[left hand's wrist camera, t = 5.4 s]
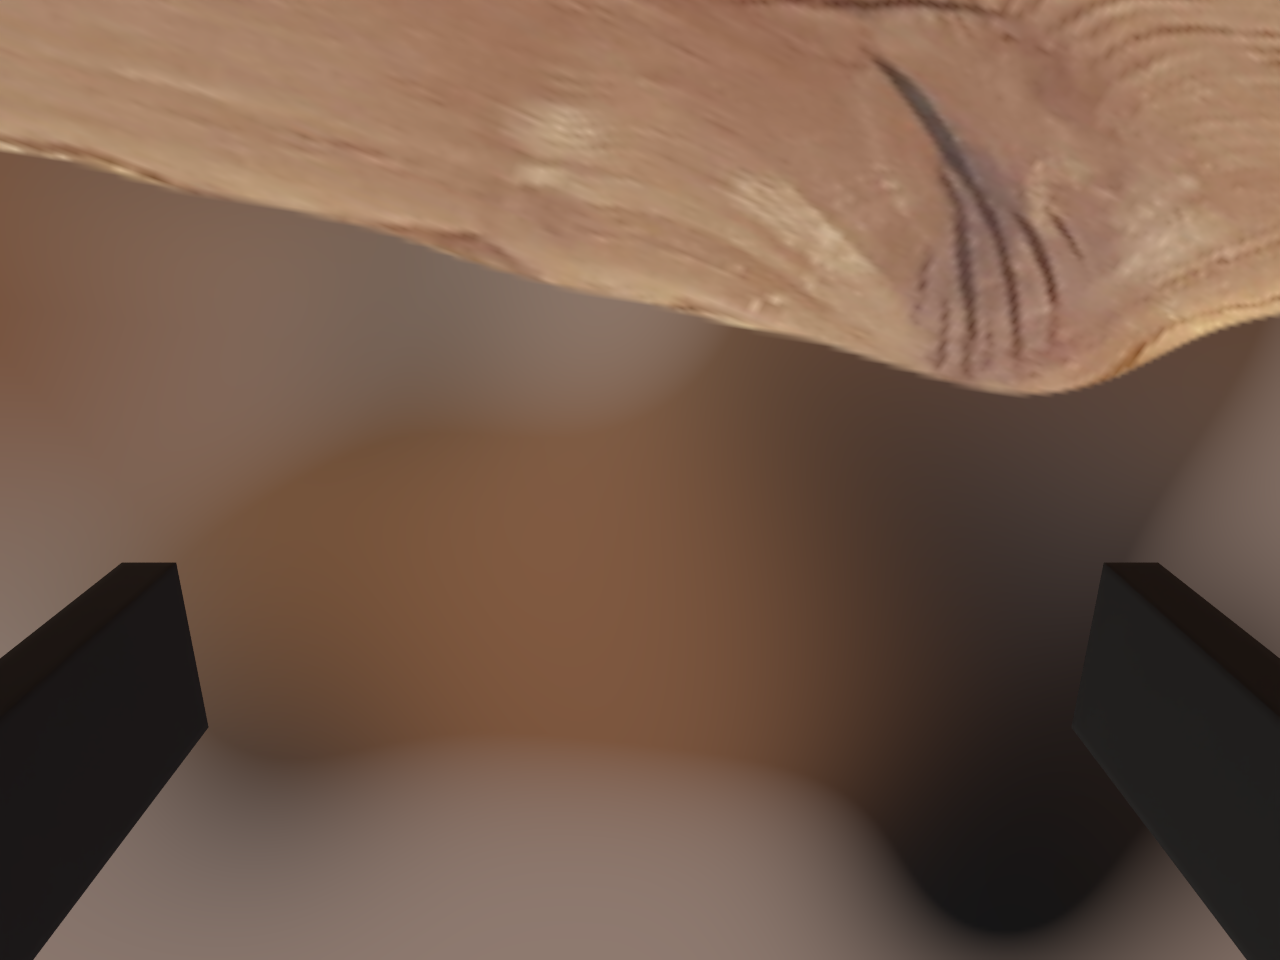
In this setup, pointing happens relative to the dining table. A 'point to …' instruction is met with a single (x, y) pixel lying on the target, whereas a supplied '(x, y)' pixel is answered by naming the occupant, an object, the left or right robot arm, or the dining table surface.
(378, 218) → the dining table surface
